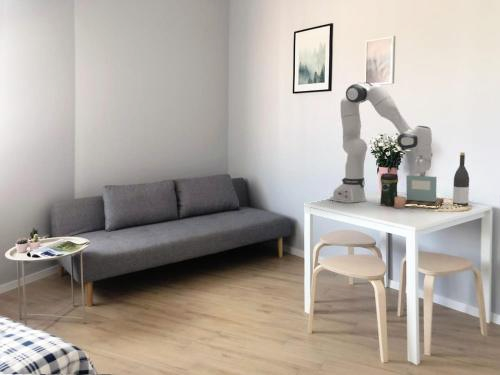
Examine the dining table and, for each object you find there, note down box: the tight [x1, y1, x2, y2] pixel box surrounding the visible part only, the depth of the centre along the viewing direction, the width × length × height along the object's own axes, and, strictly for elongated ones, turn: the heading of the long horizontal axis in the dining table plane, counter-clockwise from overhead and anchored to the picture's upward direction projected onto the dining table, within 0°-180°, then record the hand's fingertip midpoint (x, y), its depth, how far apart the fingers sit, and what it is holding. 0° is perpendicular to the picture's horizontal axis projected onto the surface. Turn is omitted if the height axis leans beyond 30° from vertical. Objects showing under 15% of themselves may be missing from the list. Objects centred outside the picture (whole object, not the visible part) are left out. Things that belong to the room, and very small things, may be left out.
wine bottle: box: [452, 151, 470, 207], centre depth 263 cm, size 8×8×30 cm
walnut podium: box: [406, 197, 445, 207], centre depth 268 cm, size 18×16×8 cm
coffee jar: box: [380, 172, 399, 207], centre depth 272 cm, size 10×8×19 cm
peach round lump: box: [393, 195, 407, 210], centre depth 263 cm, size 6×6×6 cm
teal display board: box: [405, 174, 437, 202], centre depth 261 cm, size 16×14×1 cm
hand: (422, 179), depth 262 cm, fingers closed
